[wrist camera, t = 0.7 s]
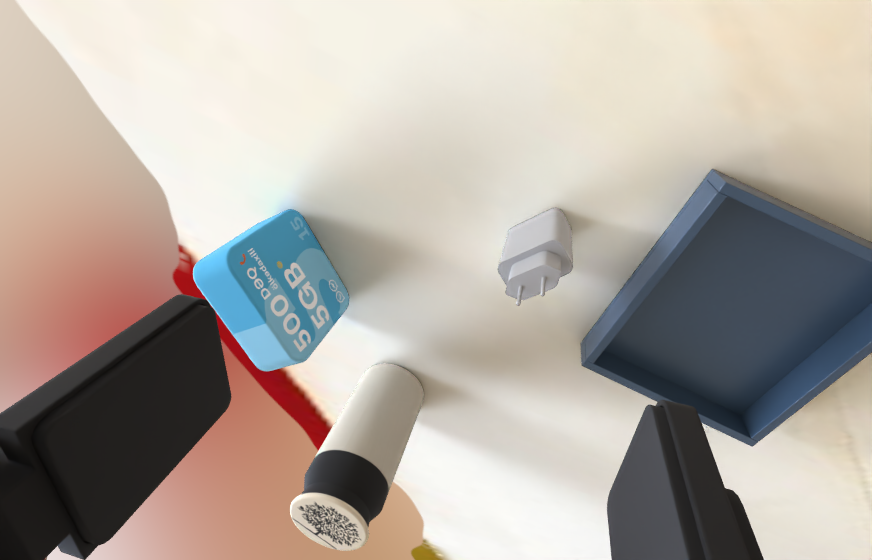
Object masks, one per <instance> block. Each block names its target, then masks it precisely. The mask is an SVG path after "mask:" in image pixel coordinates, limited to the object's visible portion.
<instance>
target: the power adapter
mask: <svg viewBox="0 0 872 560" xmlns="http://www.w3.org/2000/svg"><path fill="white" fill-rule="evenodd" d="M572 268H573V258H572V228H571V226H570V224H569V222H568V220H567V219H566V217H565V215H564V213H563V211H562V210H561V209H559V208H552V209H549V210H547V211H545V212H543V213H541V214H539V215H537V216H535V217H533V218H531V219H529V220H527V221H525V222H522V223H520V224H518V225H516V226H514V227H512V228H511V229H510V230H509V231H508V234H507V237H506V241H505V244H504V248H503V251H502V255H501V258H500V262H499V266H498V272H499V274H500V276H501V277H502V279H503V281H504V282H505V284H506V286H507V288H506V295H508V296H510V297H513V298H516V299H517V303H516V305H518V306H519V305H520V303H521V300H525V299H528V298H531V297H533V296H536V295H538V294H541V296H544V295H545V292H546V291H548V290H551V289H553V288H554V287H556V286H557V284H558V281H559V278H560V277H562V276H564V275H567V274H568V273H570V272H571V271H572Z"/></svg>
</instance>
